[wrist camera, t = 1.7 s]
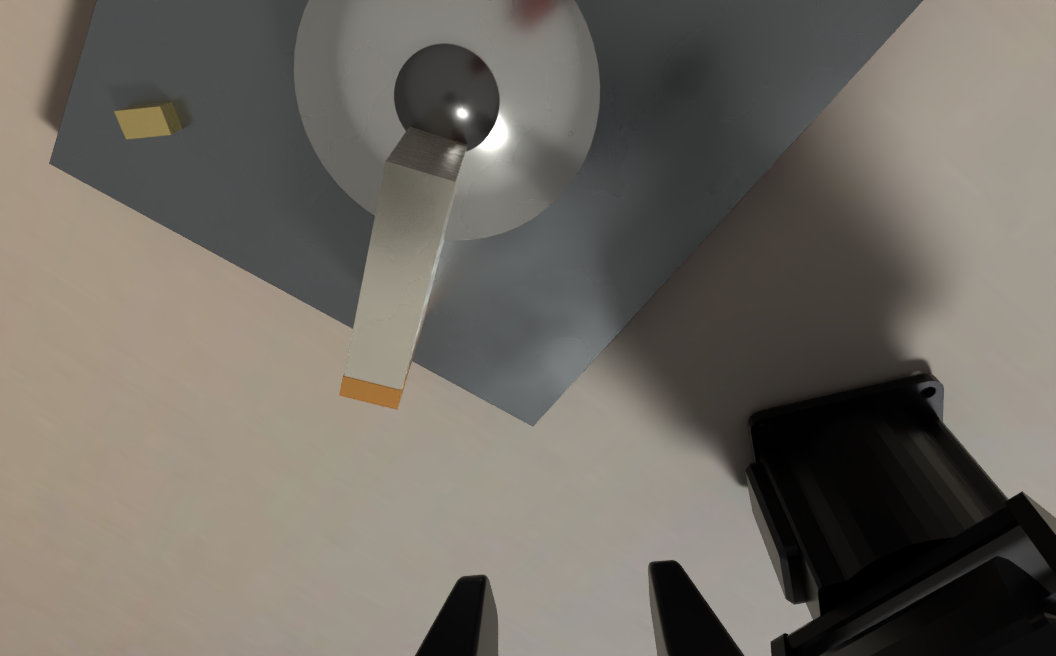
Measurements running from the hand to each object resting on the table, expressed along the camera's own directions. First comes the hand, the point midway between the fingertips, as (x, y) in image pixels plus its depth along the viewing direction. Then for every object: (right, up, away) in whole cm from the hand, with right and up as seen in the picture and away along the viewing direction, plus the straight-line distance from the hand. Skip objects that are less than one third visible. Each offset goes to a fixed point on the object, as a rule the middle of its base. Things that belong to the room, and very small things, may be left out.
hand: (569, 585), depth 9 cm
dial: (-3, +8, +7) cm, 12 cm away
